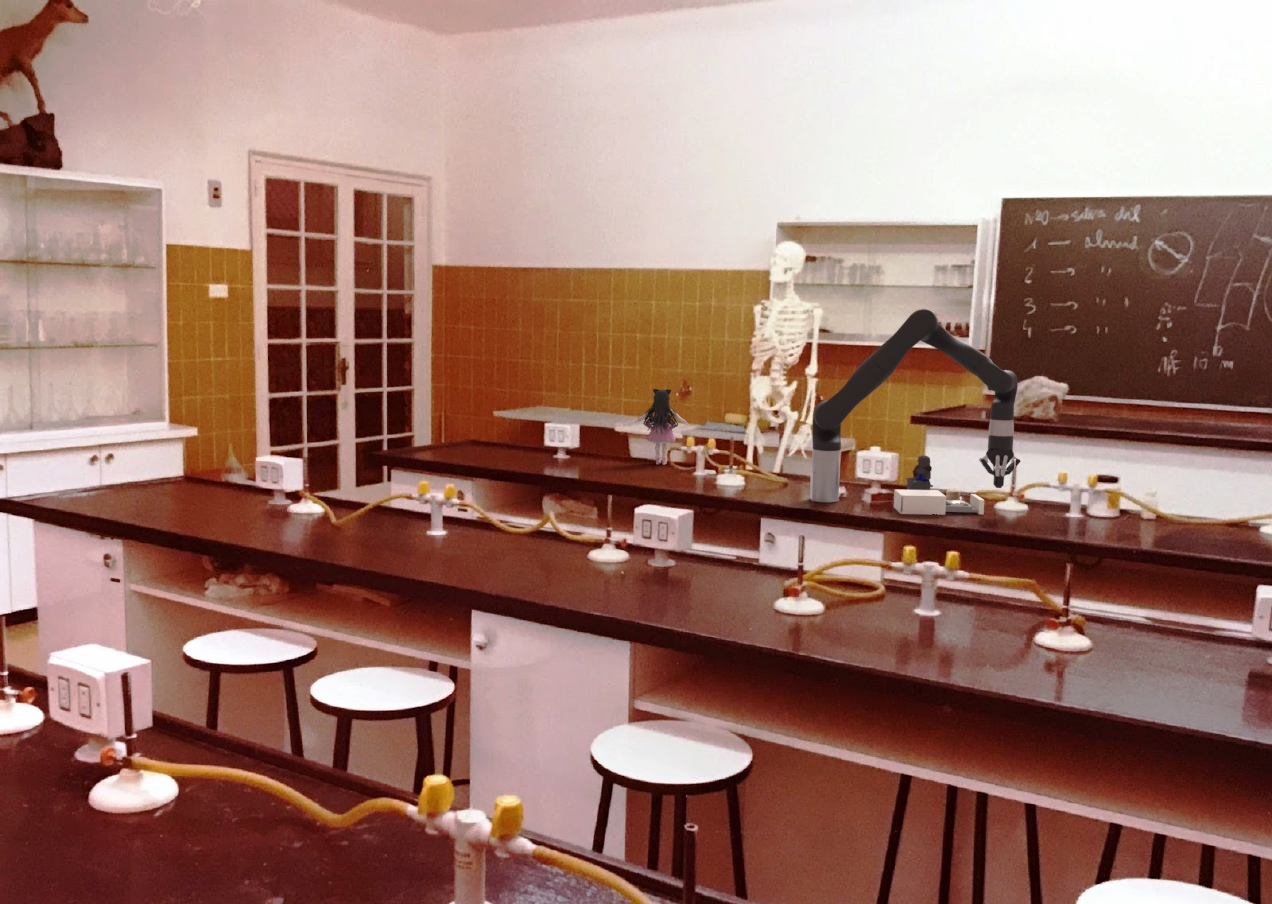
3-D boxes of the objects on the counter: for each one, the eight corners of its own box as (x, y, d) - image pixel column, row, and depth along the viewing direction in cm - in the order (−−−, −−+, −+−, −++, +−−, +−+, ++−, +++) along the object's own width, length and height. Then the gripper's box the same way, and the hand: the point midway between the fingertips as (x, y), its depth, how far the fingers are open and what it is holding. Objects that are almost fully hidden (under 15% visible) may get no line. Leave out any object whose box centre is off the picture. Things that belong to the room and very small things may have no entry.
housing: (900, 513, 359) (901, 495, 358) (893, 507, 370) (894, 489, 369) (945, 514, 359) (946, 496, 358) (937, 508, 370) (937, 490, 369)
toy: (906, 495, 392) (908, 452, 390) (934, 497, 388) (936, 454, 386) (898, 500, 383) (901, 456, 381) (927, 503, 379) (930, 458, 377)
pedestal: (947, 507, 371) (948, 492, 371) (944, 504, 376) (944, 489, 375) (961, 507, 371) (961, 492, 371) (957, 505, 376) (958, 490, 375)
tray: (932, 513, 359) (933, 499, 358) (924, 507, 369) (925, 493, 369) (983, 514, 359) (984, 500, 358) (974, 508, 369) (975, 494, 368)
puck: (947, 508, 361) (947, 503, 361) (942, 504, 367) (942, 499, 367) (967, 508, 361) (967, 503, 360) (962, 505, 367) (962, 500, 367)
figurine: (690, 463, 456) (692, 389, 452) (686, 467, 446) (687, 391, 442) (636, 461, 461) (637, 387, 457) (630, 464, 451) (631, 389, 447)
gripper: (1018, 432, 364) (1015, 485, 366) (976, 432, 364) (974, 485, 367) (1025, 435, 356) (1022, 489, 359) (983, 434, 357) (980, 489, 359)
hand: (998, 487), depth 363 cm, fingers closed
